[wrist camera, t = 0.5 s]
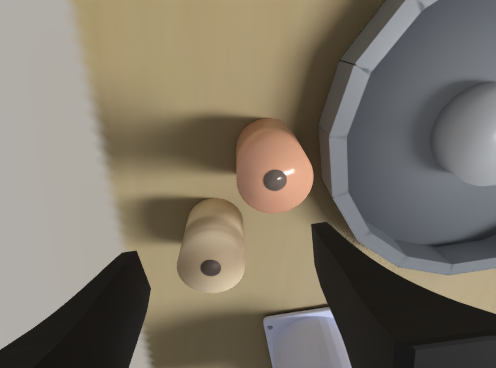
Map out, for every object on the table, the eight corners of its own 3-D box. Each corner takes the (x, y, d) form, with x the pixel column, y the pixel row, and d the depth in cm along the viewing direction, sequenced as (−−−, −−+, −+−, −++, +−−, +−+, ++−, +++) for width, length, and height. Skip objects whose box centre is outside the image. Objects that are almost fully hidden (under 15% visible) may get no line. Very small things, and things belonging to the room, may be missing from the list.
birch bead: (246, 239, 24) (249, 288, 20) (195, 248, 24) (186, 298, 20) (237, 193, 22) (238, 235, 18) (181, 203, 23) (168, 246, 18)
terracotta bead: (299, 170, 22) (316, 207, 17) (241, 180, 22) (243, 219, 17) (293, 113, 20) (310, 137, 16) (231, 124, 20) (229, 151, 16)
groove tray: (582, 228, 25) (618, 249, 23) (328, 268, 26) (337, 292, 23) (696, -95, 16) (775, -116, 14) (307, -21, 17) (319, -29, 15)
